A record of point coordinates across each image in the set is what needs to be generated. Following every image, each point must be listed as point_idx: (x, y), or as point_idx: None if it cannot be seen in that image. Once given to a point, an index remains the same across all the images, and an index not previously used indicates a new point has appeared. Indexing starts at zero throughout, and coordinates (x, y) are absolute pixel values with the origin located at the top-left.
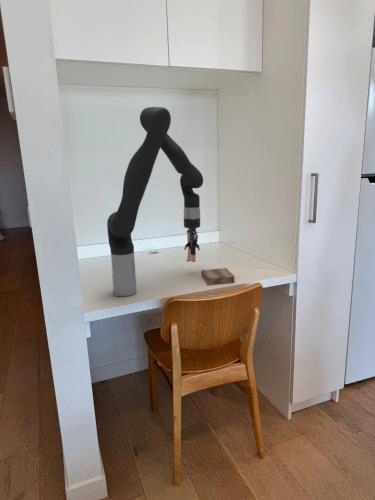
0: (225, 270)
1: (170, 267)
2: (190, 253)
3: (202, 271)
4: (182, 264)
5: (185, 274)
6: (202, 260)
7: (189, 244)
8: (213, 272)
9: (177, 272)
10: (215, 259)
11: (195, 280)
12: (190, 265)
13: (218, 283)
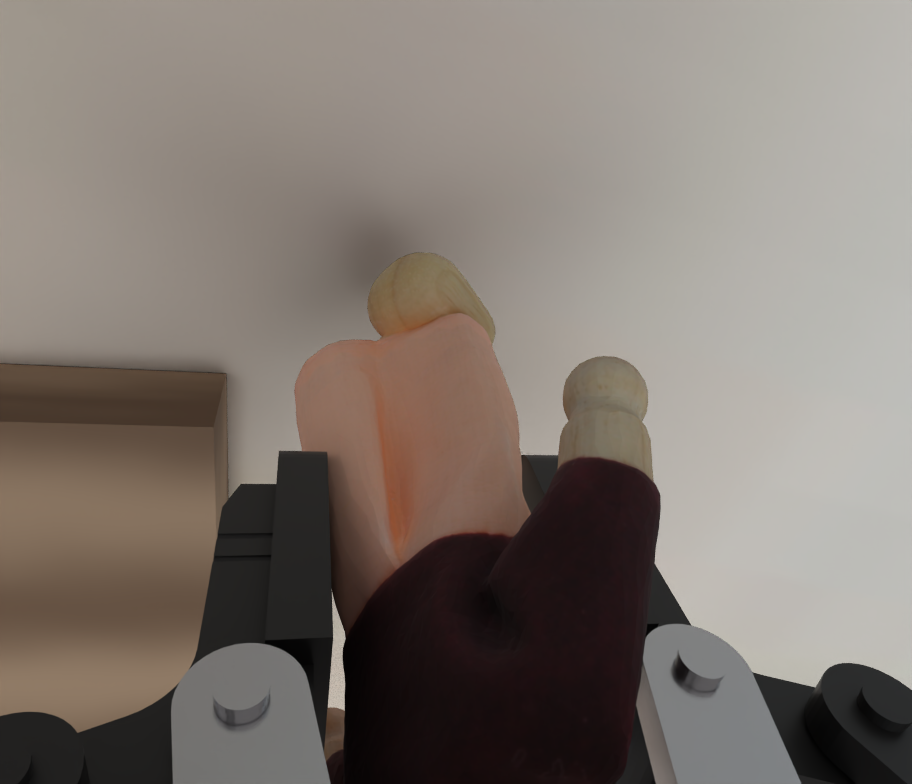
0: (112, 703)
1: (889, 9)
2: (351, 454)
3: (129, 427)
4: (887, 260)
5: (402, 159)
6: (853, 534)
7: (440, 685)
8: (36, 562)
9: (567, 49)
10: (790, 652)
11: (27, 232)
12: (773, 356)
13: None
